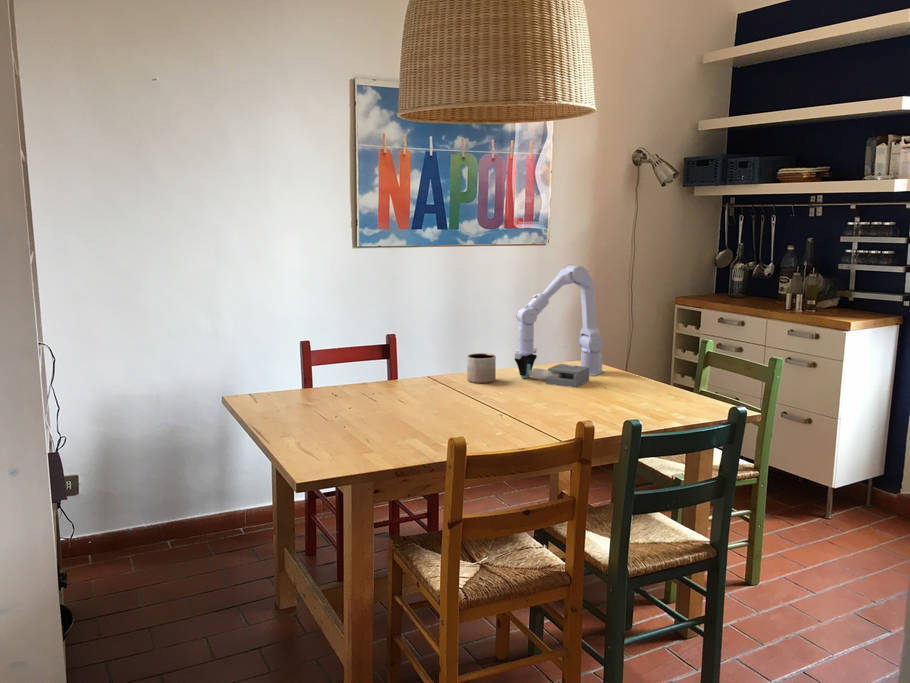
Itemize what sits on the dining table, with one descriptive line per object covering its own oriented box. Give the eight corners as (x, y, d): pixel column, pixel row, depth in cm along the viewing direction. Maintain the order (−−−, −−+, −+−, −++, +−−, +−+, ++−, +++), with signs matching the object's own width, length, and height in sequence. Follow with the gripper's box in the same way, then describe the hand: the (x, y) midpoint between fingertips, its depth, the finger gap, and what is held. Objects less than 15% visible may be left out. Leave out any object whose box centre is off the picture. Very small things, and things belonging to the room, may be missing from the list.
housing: (559, 377, 307) (560, 363, 306) (588, 381, 300) (589, 367, 299) (545, 383, 296) (546, 369, 295) (575, 387, 290) (576, 373, 289)
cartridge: (525, 376, 308) (526, 363, 307) (562, 380, 300) (562, 368, 299) (521, 378, 304) (521, 365, 303) (558, 382, 296) (558, 369, 295)
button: (570, 371, 302) (570, 364, 302) (576, 371, 301) (576, 365, 301) (567, 372, 300) (567, 365, 300) (573, 372, 299) (573, 366, 299)
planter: (498, 383, 297) (499, 358, 295) (470, 384, 295) (470, 359, 293) (491, 377, 307) (491, 352, 306) (464, 378, 305) (464, 353, 303)
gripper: (525, 336, 311) (524, 369, 313) (507, 341, 299) (507, 376, 301) (541, 337, 307) (540, 371, 310) (524, 343, 295) (524, 378, 298)
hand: (525, 374), depth 305 cm, fingers closed on cartridge, 4 cm apart
